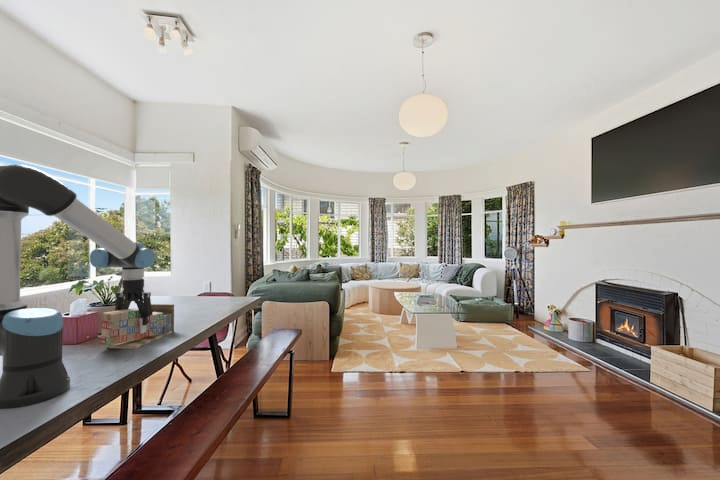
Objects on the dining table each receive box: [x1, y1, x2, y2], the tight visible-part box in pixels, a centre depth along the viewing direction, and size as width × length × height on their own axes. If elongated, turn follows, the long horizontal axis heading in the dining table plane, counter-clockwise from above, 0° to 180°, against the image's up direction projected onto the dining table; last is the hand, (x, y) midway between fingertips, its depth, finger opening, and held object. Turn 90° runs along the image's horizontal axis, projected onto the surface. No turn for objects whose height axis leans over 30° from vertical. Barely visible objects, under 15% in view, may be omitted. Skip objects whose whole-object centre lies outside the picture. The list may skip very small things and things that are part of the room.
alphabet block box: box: [106, 303, 175, 350], centre depth 139 cm, size 24×12×13 cm, turn 177°
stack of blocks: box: [100, 307, 164, 346], centre depth 133 cm, size 21×6×12 cm, turn 157°
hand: (133, 332), depth 133 cm, fingers closed on stack of blocks, 8 cm apart
